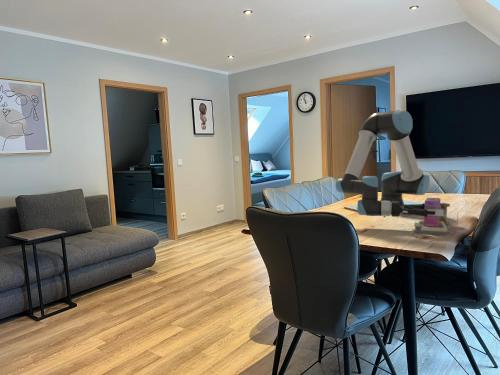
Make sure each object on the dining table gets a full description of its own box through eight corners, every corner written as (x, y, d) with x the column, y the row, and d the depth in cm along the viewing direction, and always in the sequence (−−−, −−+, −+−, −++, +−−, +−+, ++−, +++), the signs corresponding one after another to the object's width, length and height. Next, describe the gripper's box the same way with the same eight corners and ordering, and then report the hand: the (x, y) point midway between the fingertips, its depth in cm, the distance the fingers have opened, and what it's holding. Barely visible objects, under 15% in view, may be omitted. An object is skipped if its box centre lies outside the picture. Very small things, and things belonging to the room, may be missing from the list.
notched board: (416, 233, 166) (416, 227, 166) (414, 225, 182) (414, 219, 181) (451, 235, 161) (451, 229, 161) (446, 226, 177) (446, 221, 176)
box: (437, 227, 165) (438, 201, 164) (423, 225, 168) (424, 200, 167) (439, 222, 174) (440, 198, 172) (426, 221, 177) (427, 197, 175)
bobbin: (436, 224, 181) (436, 204, 180) (435, 222, 187) (435, 202, 186) (449, 225, 179) (450, 205, 178) (448, 222, 185) (449, 203, 183)
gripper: (391, 211, 188) (438, 213, 180) (390, 221, 166) (444, 224, 158) (391, 197, 187) (439, 198, 179) (390, 205, 165) (445, 206, 157)
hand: (441, 210), depth 169 cm, fingers closed on box, 11 cm apart
